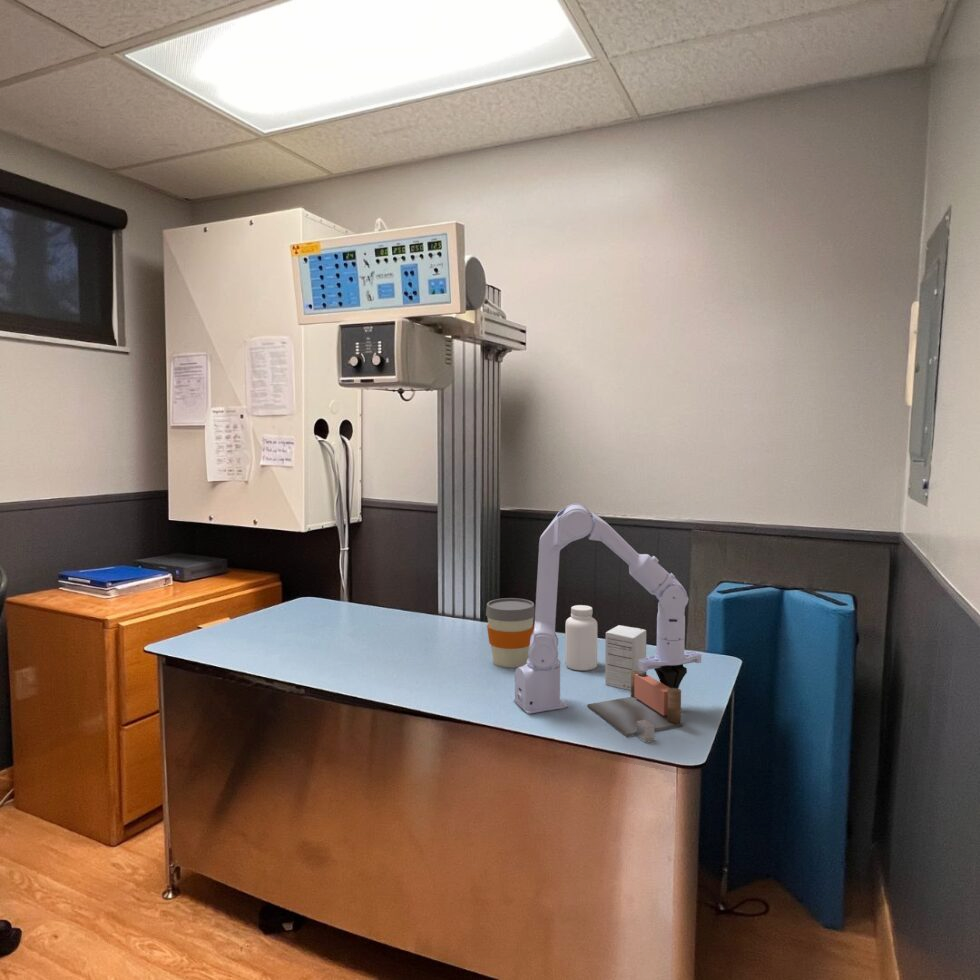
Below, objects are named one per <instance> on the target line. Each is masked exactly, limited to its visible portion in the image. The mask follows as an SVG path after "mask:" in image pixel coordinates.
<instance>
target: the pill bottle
mask: <svg viewBox="0 0 980 980" xmlns="http://www.w3.org/2000/svg"><path fill="white" fill-rule="evenodd" d="M593 614H594V613H593V607H592V606H590V605H585V604H584V605H583V604H577V605H573V606H571V607H570V617H568V618H567V619H566V620H565V625H564V626H565V636H564V637H565V647H564V648H565V649H564V652H565V654H564V655H565V665H566V668H568V669H570V670H575V671H584V672H585V671H591V670H595V669H596V668H597V665H598V621H597V620H596V619H595V618H594V617H593Z"/></svg>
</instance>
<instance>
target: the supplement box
mask: <svg viewBox="0 0 980 980" xmlns="http://www.w3.org/2000/svg"><path fill="white" fill-rule="evenodd" d="M604 650H605V651H604V653H605V658H604V660H605V663H604V664H605V667H604V669H605V671H604V672H605V685H607V686H611V687H614V688H618V689H623V690H627V691H631V671H642V670H640V669H638V661H639V660H641V659H645V658H647V630H646V629H643V628H639V627H631V626H626V625H620V624H618V625H617V626H615V627H612V628H611V629H609V630H607V631H606V632H605V649H604Z"/></svg>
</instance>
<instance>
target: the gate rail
mask: <svg viewBox="0 0 980 980" xmlns="http://www.w3.org/2000/svg"><path fill="white" fill-rule="evenodd" d="M668 689H669V687H668V686H666V685H664V684H662V683H661V682H660V680H657V679H655V678H654V677H652V676H650V675H648V674H647V671H644V672H643V671H638V674H635V681H634V697H636V698H637V699H639V700H640V701H642V702H643V703H645V704H646V705H648V706H650V707H651V708H653V709H654V710H656V711H657V712H659V713H660V714H662V715H663V716H665V715H667V706H668Z"/></svg>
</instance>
